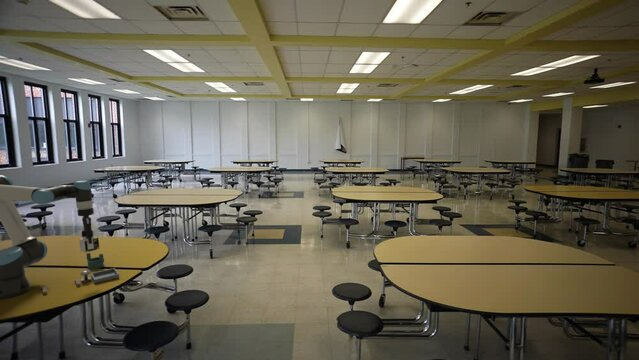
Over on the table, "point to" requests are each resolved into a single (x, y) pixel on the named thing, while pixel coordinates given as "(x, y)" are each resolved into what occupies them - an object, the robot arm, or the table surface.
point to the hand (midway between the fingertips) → (90, 247)
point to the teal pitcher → (95, 261)
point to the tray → (104, 275)
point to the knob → (85, 276)
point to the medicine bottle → (84, 242)
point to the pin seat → (75, 281)
